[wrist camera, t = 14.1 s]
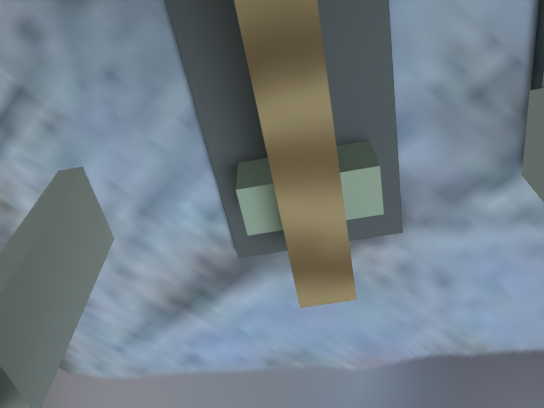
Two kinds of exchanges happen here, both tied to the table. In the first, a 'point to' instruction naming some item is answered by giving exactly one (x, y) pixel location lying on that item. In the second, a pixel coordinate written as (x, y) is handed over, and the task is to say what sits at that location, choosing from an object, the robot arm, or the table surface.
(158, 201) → the table surface
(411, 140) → the table surface
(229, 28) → the plate with green blocks
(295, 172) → the rail
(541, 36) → the grey notched post stand
